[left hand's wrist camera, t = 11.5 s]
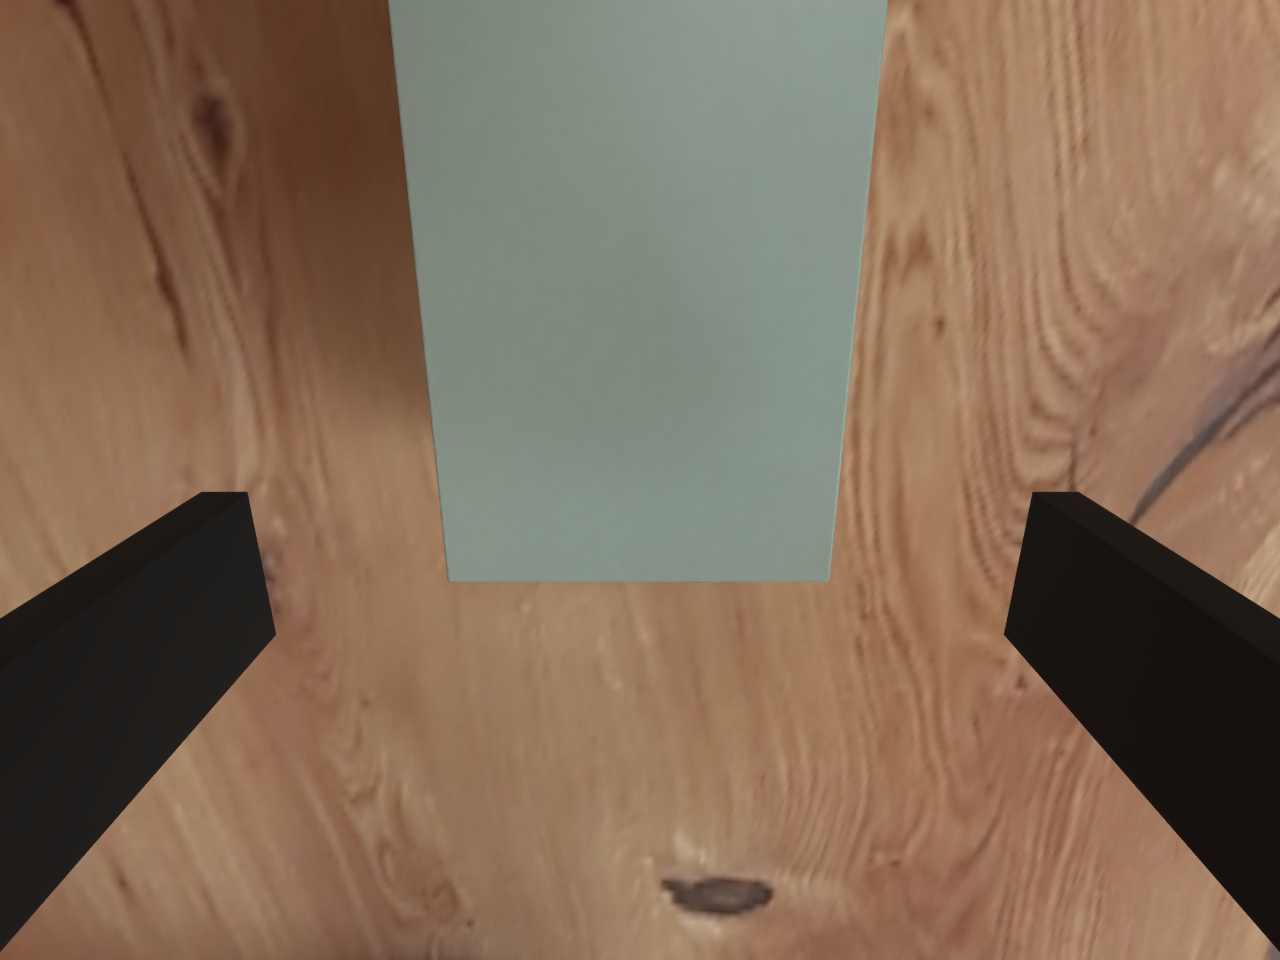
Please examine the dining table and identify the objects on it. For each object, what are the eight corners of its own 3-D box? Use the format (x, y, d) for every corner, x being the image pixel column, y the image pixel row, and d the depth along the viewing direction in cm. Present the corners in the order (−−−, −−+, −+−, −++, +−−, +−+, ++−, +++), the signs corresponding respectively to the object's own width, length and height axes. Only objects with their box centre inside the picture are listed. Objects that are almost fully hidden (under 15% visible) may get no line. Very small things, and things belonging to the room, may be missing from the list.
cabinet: (484, -51, 24) (358, -266, 13) (792, -51, 24) (916, -267, 13) (515, 452, 30) (447, 583, 19) (762, 452, 30) (830, 582, 19)
